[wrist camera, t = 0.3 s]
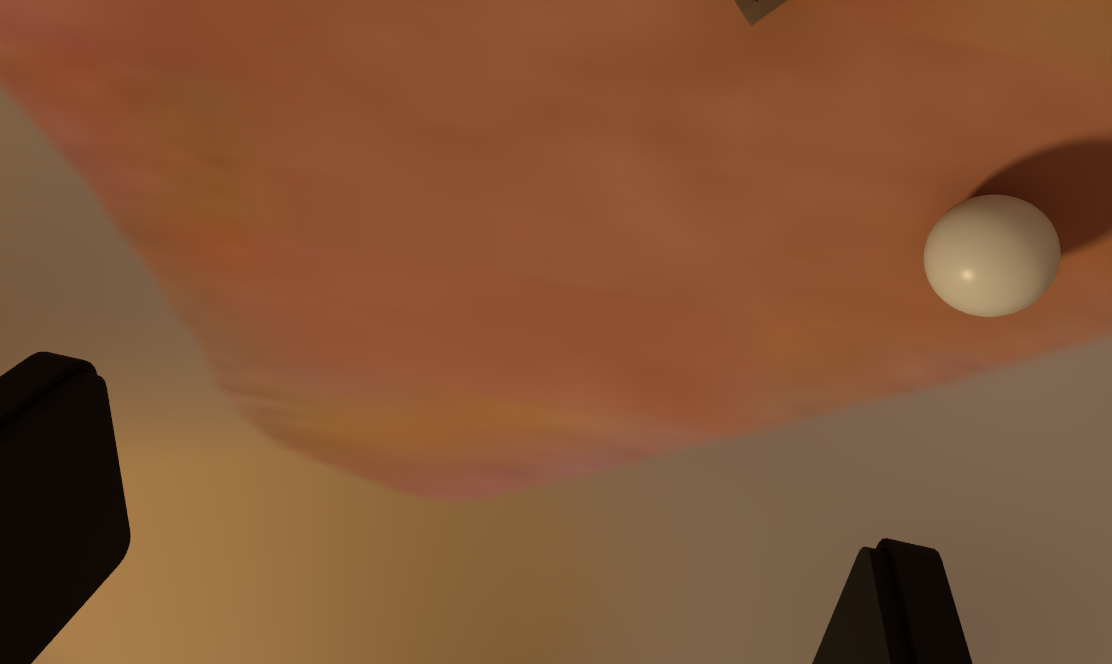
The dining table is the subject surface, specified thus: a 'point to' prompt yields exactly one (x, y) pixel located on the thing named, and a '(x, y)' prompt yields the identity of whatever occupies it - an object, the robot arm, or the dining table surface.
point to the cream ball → (992, 255)
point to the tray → (757, 8)
